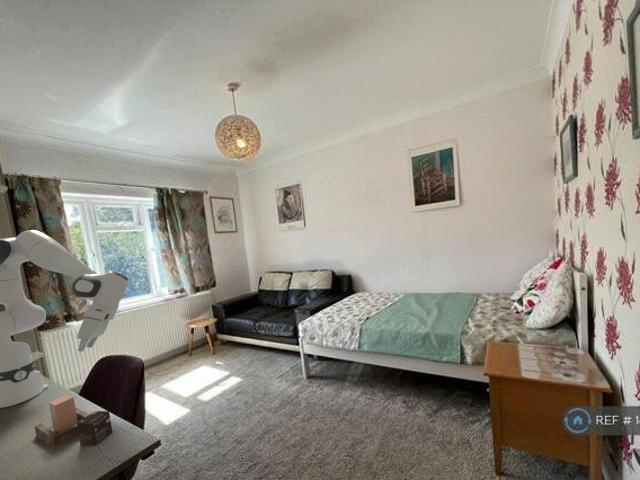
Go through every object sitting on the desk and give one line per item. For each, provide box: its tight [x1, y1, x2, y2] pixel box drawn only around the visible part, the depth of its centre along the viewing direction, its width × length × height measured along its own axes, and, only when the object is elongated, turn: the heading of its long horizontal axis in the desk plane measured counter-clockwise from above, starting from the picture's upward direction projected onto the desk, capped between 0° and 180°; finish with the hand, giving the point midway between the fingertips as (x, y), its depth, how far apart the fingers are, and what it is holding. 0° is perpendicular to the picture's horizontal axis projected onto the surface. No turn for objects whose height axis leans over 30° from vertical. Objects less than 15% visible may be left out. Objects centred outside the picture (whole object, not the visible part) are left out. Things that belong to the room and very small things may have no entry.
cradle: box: [34, 406, 91, 450], centre depth 99 cm, size 16×11×4 cm
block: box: [48, 394, 78, 434], centre depth 99 cm, size 5×5×10 cm
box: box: [77, 410, 113, 447], centre depth 93 cm, size 6×6×7 cm
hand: (85, 349), depth 110 cm, fingers open, 8 cm apart
